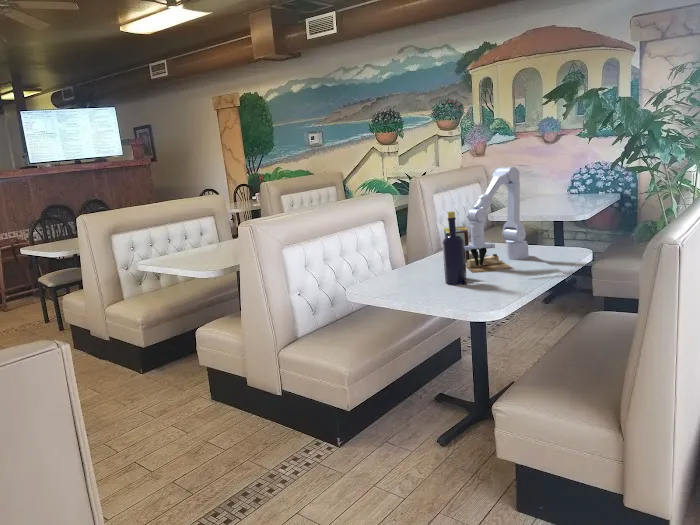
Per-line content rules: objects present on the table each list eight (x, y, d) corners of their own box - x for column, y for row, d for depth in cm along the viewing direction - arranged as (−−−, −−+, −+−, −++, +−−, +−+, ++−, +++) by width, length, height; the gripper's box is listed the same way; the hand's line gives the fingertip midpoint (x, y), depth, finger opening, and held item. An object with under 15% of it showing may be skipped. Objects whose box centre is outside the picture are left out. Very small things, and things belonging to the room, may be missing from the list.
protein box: (466, 255, 286) (464, 225, 283) (470, 262, 271) (468, 230, 268) (446, 257, 287) (443, 227, 284) (448, 264, 272) (445, 232, 269)
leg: (495, 261, 260) (495, 253, 259) (498, 262, 257) (498, 254, 256) (467, 266, 256) (466, 258, 256) (470, 267, 254) (469, 259, 253)
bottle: (467, 284, 232) (462, 212, 225) (444, 285, 234) (439, 214, 227) (467, 279, 240) (462, 209, 234) (445, 280, 242) (440, 211, 236)
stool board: (501, 262, 263) (501, 260, 262) (513, 271, 245) (513, 268, 245) (463, 267, 262) (463, 264, 262) (472, 275, 245) (472, 272, 245)
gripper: (491, 232, 254) (492, 261, 257) (459, 235, 254) (461, 265, 257) (495, 234, 247) (497, 264, 250) (463, 238, 247) (464, 268, 250)
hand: (479, 265), depth 253 cm, fingers closed
